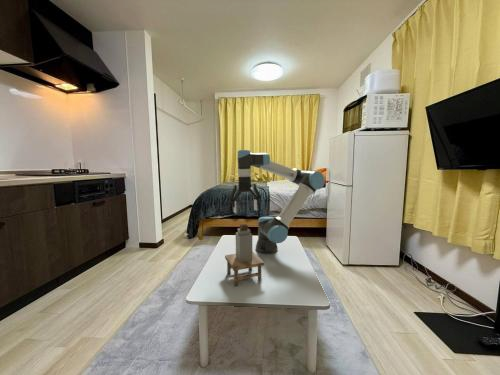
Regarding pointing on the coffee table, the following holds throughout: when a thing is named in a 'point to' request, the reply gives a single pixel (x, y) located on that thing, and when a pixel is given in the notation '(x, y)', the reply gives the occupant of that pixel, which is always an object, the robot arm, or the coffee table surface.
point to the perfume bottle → (244, 244)
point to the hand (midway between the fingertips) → (245, 211)
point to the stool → (243, 266)
